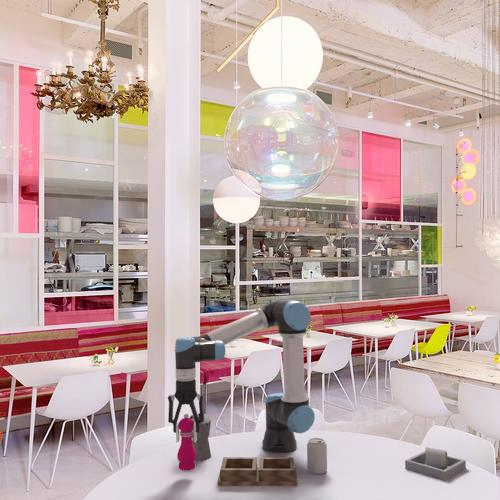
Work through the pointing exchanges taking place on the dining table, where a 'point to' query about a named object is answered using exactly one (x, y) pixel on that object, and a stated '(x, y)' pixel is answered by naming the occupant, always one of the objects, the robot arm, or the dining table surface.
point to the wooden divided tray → (257, 472)
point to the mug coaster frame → (416, 465)
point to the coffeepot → (202, 439)
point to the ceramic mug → (436, 458)
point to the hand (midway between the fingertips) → (186, 440)
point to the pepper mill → (186, 444)
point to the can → (317, 456)
